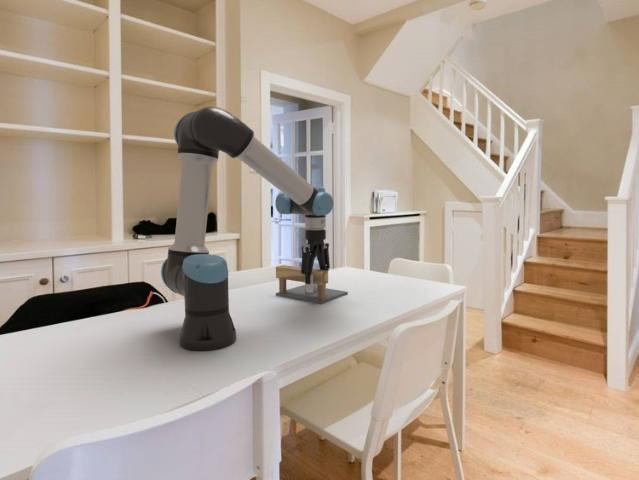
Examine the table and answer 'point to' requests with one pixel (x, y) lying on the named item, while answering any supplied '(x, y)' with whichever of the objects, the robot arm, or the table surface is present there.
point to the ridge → (315, 288)
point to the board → (317, 297)
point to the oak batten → (295, 274)
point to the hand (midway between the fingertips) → (316, 290)
